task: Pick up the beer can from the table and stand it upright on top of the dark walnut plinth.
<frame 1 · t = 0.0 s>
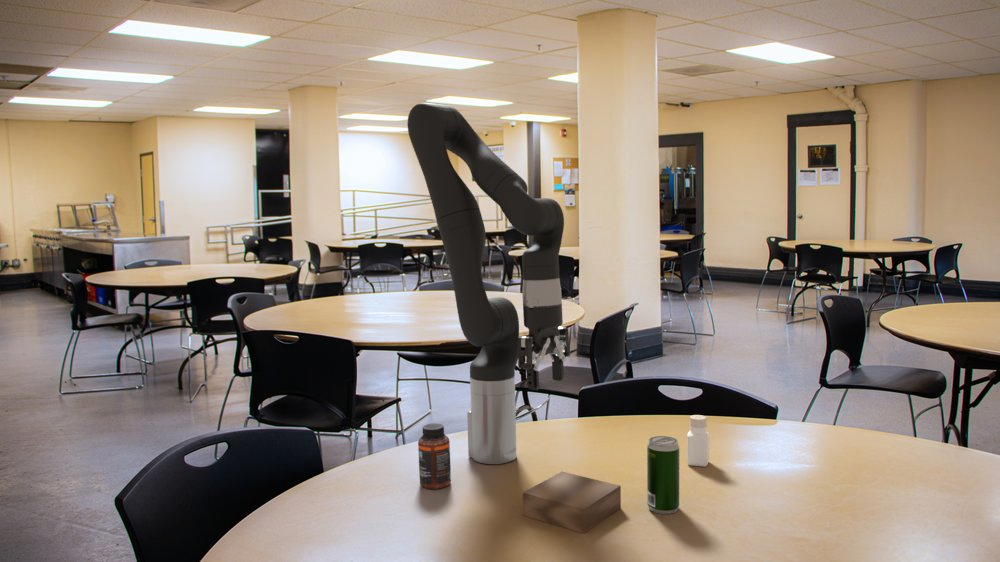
hand: (546, 384, 146), 17 cm above the table, tool pointing down, fingers open, 8 cm apart
pepper shaker: (698, 464, 150), on the table
walnut plinth: (572, 511, 128), on the table
beer can: (663, 509, 129), on the table
supplement bottle: (435, 485, 142), on the table
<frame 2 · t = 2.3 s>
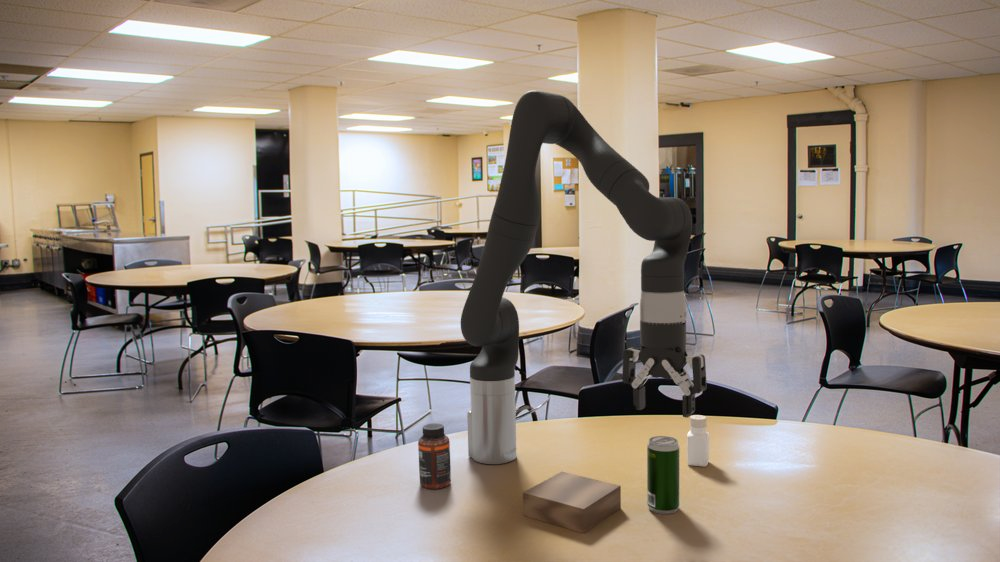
hand: (663, 412, 127), 17 cm above the table, tool pointing down, fingers open, 8 cm apart
nothing on the table moved.
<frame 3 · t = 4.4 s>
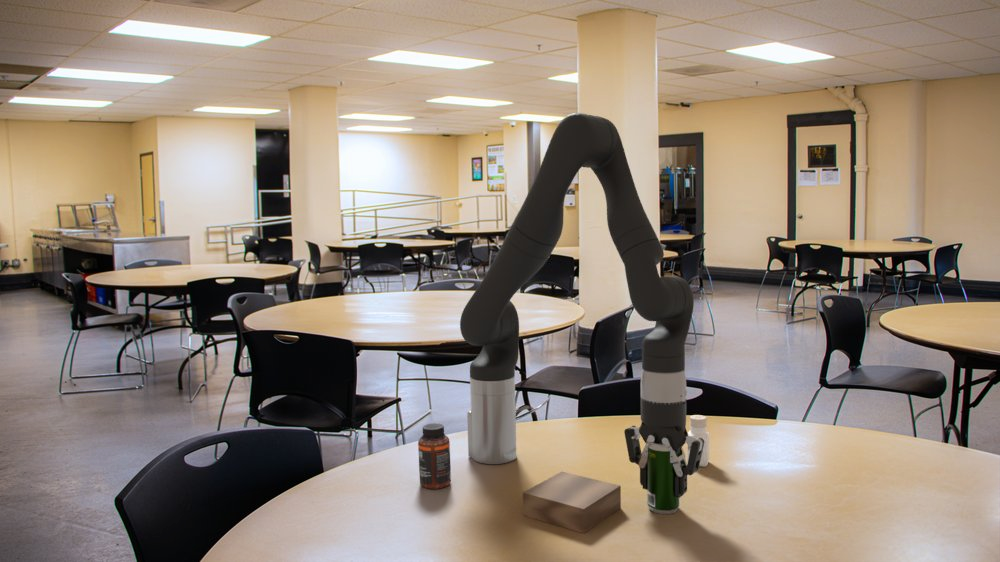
hand: (663, 491, 128), 3 cm above the table, tool pointing down, fingers closed on beer can, 5 cm apart
beer can: (663, 509, 129), on the table, touching gripper
everything else where it was.
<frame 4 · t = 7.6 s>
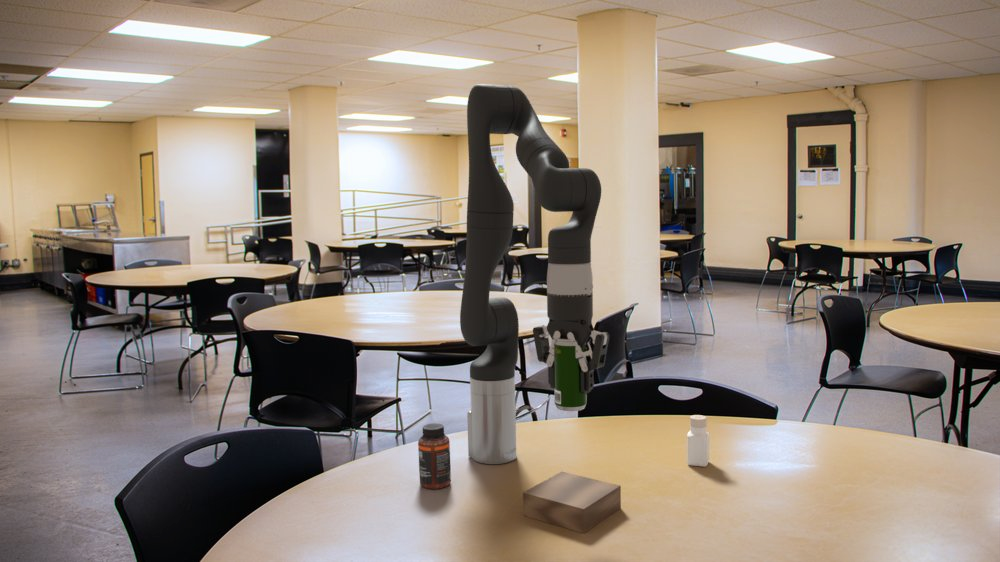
hand: (570, 389, 126), 21 cm above the table, tool pointing down, fingers closed on beer can, 5 cm apart
beer can: (570, 408, 126), point 18 cm above the table, touching gripper
everything else where it was.
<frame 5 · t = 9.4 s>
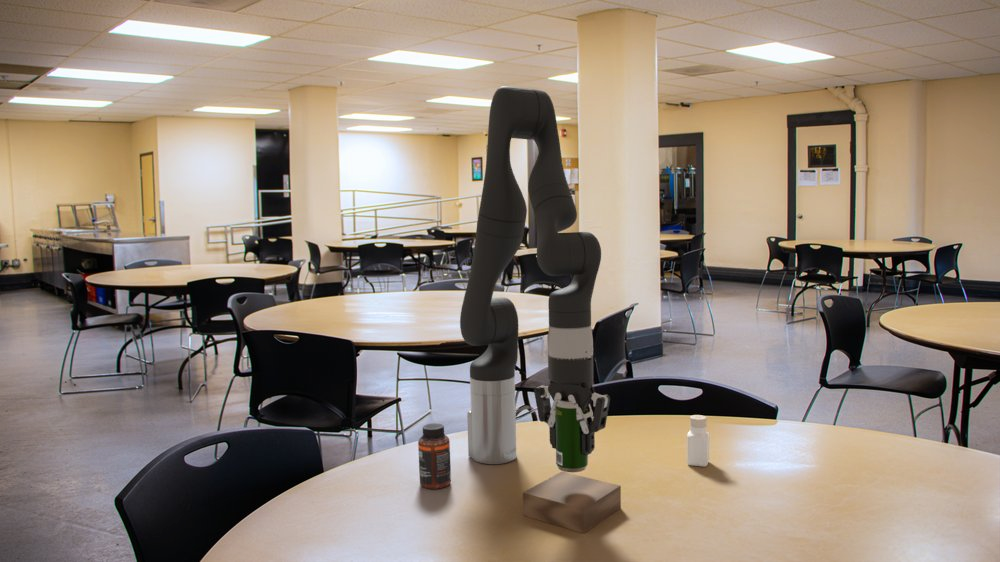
hand: (572, 450, 127), 11 cm above the table, tool pointing down, fingers closed on beer can, 5 cm apart
beer can: (572, 468, 127), point 8 cm above the table, touching gripper
everything else where it was.
when the fingers open (8 cm above the table, at t = 10.8 s): beer can drops 1 cm, resting on walnut plinth.
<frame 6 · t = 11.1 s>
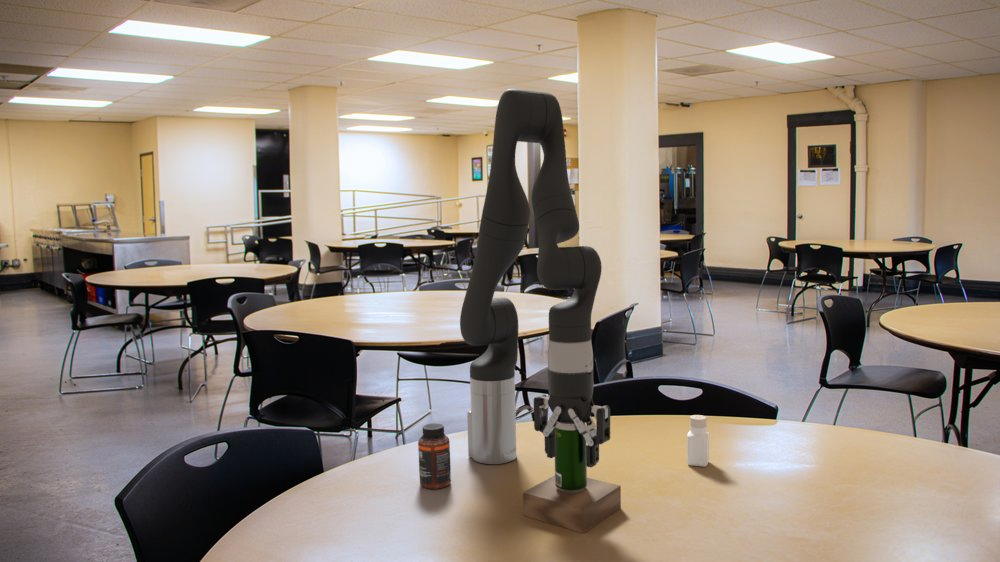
hand: (571, 461, 127), 9 cm above the table, tool pointing down, fingers open, 7 cm apart
beer can: (571, 489, 128), point 4 cm above the table, touching walnut plinth
everything else where it was.
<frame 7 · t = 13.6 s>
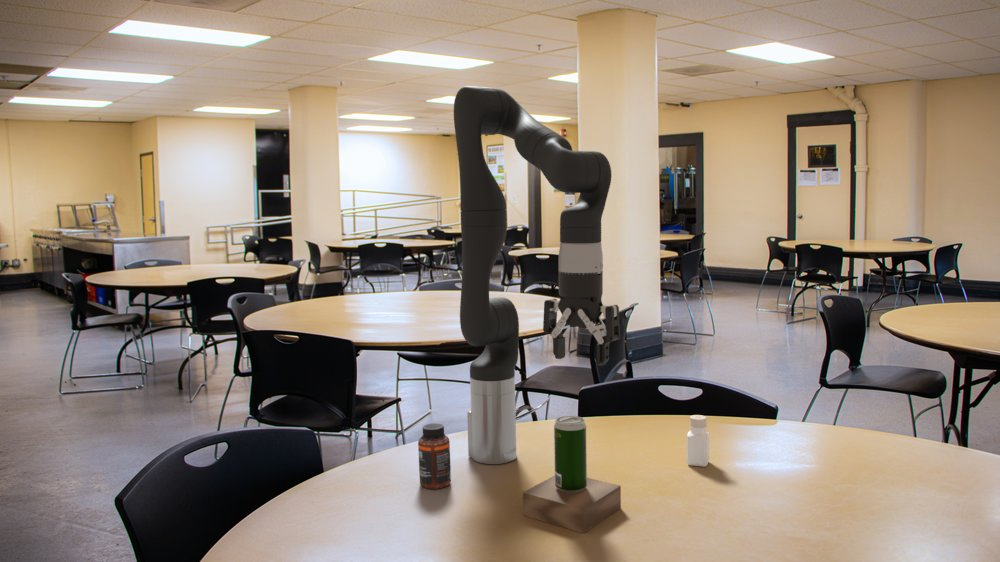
hand: (580, 361, 131), 25 cm above the table, tool pointing down, fingers open, 8 cm apart
nothing on the table moved.
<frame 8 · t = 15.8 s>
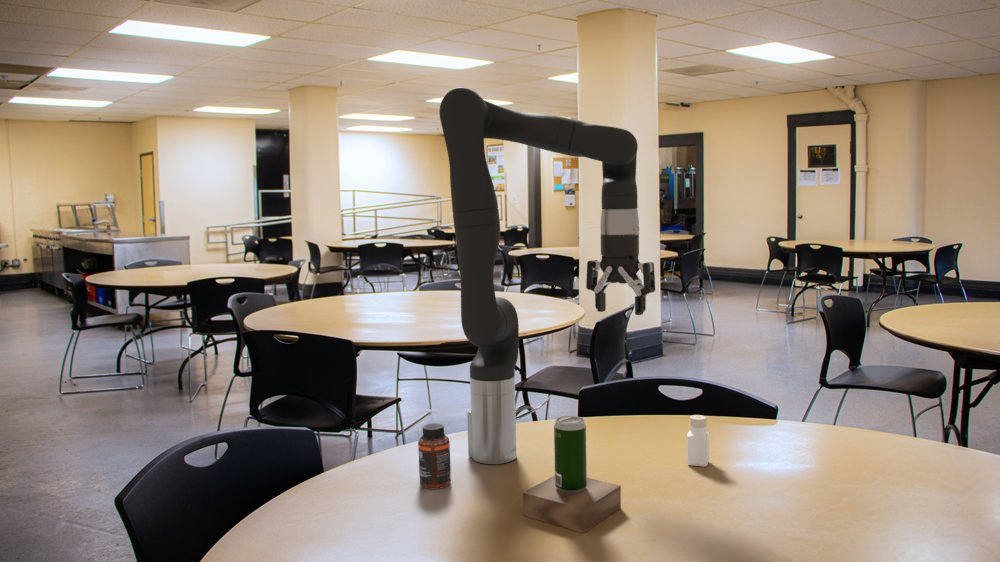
hand: (620, 313, 151), 30 cm above the table, tool pointing down, fingers open, 8 cm apart
nothing on the table moved.
at the end: beer can inside the target area on the walnut plinth (0.2 cm from its centre), point 3.8 cm above the walnut plinth's base; beer can tilted 0°; the gripper is holding nothing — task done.
